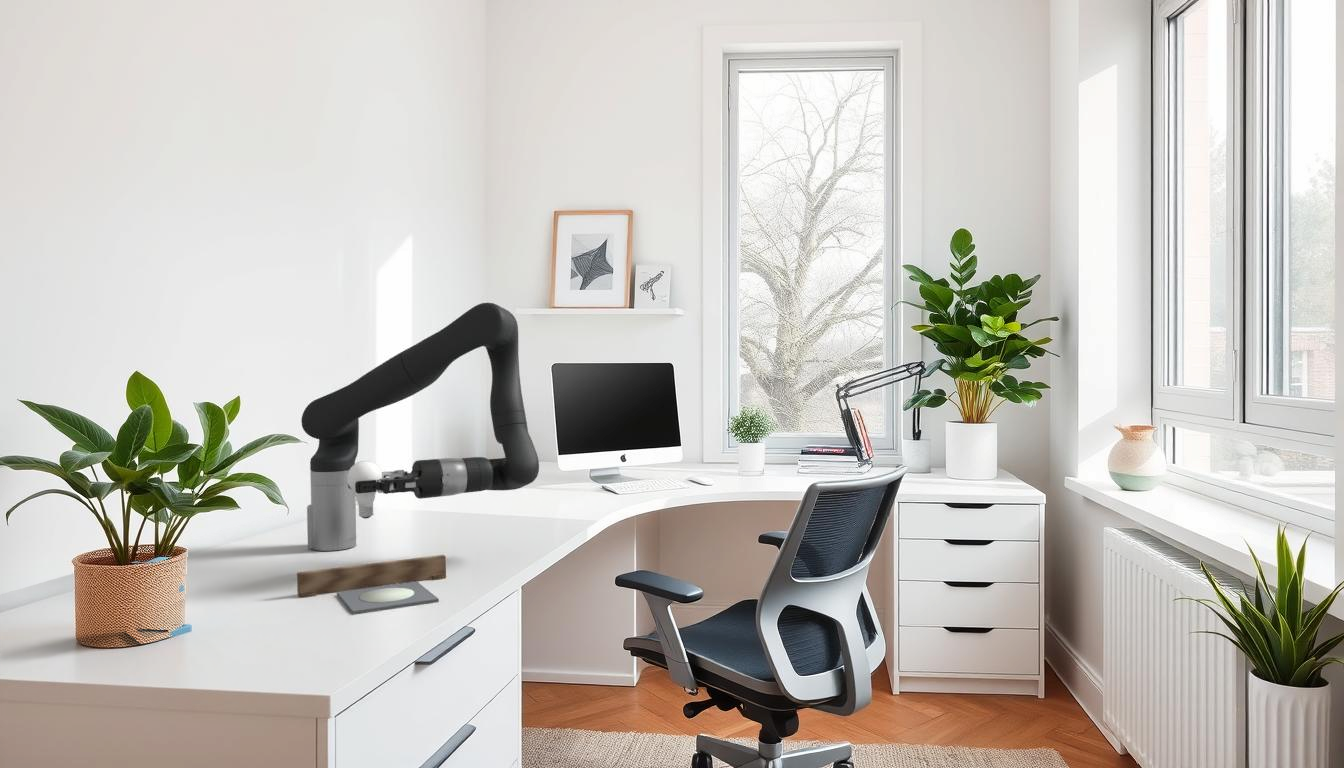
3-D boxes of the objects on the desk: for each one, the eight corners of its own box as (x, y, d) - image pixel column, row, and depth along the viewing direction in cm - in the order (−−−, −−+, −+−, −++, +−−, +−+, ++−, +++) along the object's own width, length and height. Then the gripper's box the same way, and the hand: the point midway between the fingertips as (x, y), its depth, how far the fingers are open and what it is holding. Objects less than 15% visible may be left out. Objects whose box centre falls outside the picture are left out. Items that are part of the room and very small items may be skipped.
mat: (353, 614, 144) (353, 610, 144) (337, 595, 156) (337, 591, 156) (438, 601, 152) (438, 597, 152) (417, 584, 164) (417, 580, 164)
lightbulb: (377, 521, 166) (375, 462, 166) (343, 521, 166) (341, 463, 166) (388, 514, 173) (386, 458, 172) (355, 515, 173) (353, 459, 172)
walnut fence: (299, 598, 155) (299, 575, 155) (296, 594, 157) (296, 571, 157) (447, 578, 168) (446, 557, 168) (442, 574, 171) (442, 554, 170)
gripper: (428, 455, 183) (343, 462, 174) (450, 462, 170) (359, 469, 162) (429, 492, 183) (344, 500, 174) (451, 501, 171) (360, 510, 162)
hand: (352, 485), depth 168 cm, fingers closed on lightbulb, 6 cm apart
